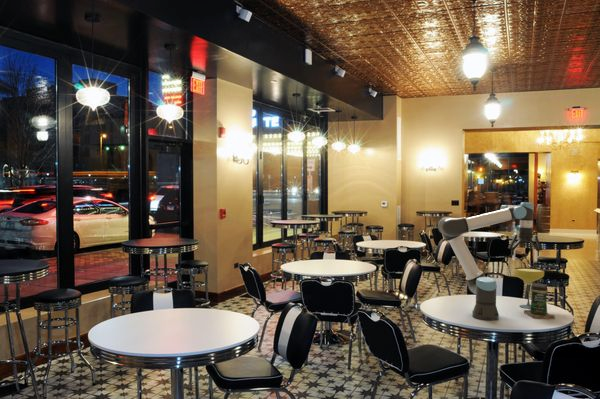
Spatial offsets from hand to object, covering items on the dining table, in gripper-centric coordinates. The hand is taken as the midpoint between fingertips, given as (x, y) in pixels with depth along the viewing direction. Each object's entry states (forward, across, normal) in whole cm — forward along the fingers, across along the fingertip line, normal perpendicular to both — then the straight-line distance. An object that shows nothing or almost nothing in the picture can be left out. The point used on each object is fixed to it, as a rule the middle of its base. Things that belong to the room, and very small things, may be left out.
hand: (524, 260), depth 318 cm
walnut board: (+33, +8, -5) cm, 34 cm away
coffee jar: (+32, +8, -5) cm, 33 cm away
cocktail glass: (+33, +10, +18) cm, 39 cm away
